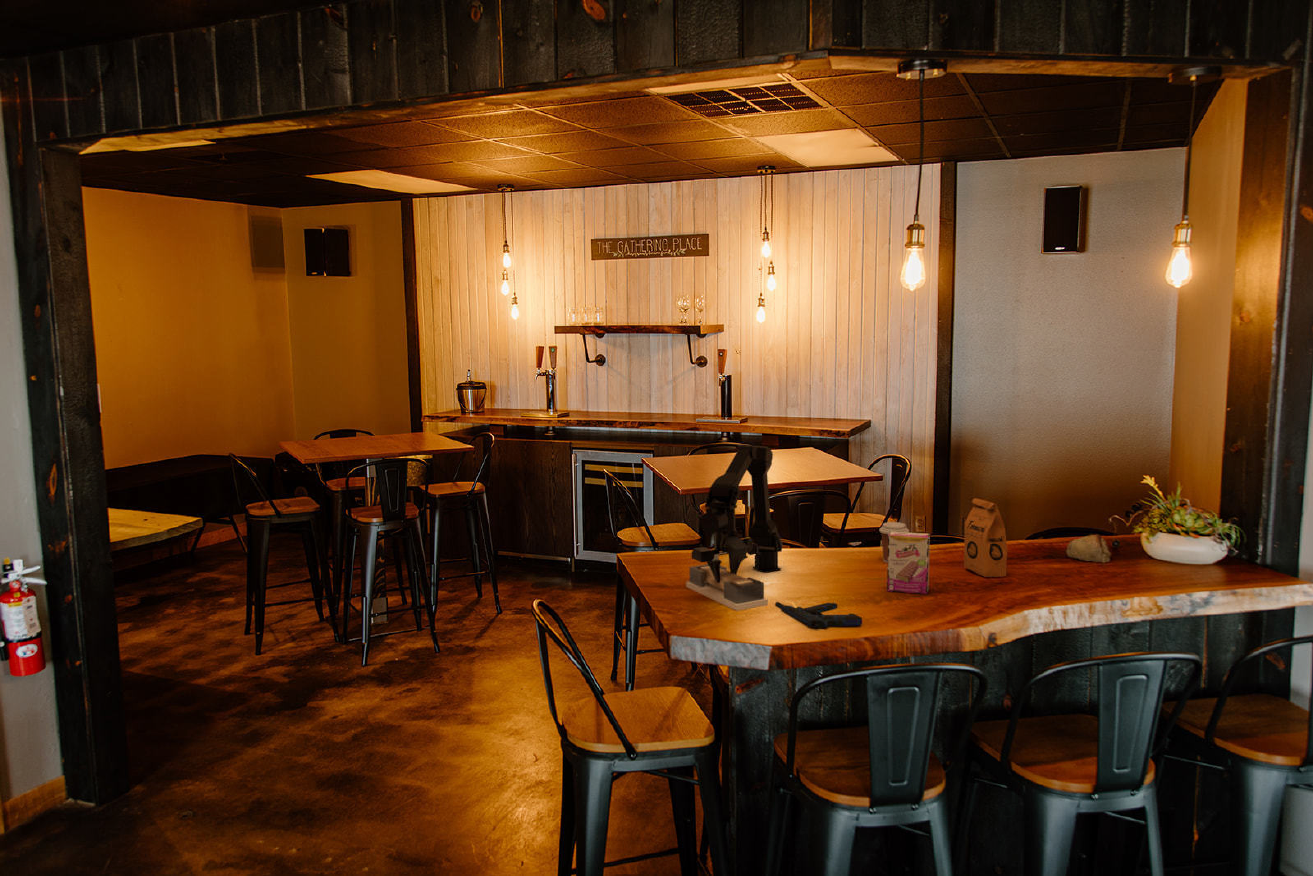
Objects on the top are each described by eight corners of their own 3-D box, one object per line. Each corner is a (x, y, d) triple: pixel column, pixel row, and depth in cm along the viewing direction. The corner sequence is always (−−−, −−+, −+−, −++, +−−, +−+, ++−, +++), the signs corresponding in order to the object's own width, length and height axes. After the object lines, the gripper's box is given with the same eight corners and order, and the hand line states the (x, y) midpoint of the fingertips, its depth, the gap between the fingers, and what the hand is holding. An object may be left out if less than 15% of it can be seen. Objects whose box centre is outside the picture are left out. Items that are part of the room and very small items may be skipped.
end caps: (689, 582, 254) (689, 567, 253) (714, 578, 258) (714, 563, 257) (737, 604, 232) (736, 587, 231) (763, 599, 236) (763, 582, 235)
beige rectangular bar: (700, 579, 252) (700, 567, 252) (713, 577, 254) (713, 565, 254) (738, 596, 235) (738, 583, 234) (752, 594, 237) (752, 581, 236)
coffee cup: (885, 556, 285) (885, 520, 284) (912, 560, 280) (913, 523, 279) (874, 562, 278) (874, 525, 277) (902, 566, 273) (903, 528, 271)
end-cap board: (686, 587, 254) (686, 581, 254) (715, 582, 259) (715, 577, 259) (736, 610, 231) (736, 605, 231) (767, 604, 235) (767, 599, 235)
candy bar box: (886, 592, 245) (887, 534, 244) (888, 587, 250) (888, 530, 248) (928, 595, 242) (929, 536, 240) (929, 590, 246) (929, 533, 245)
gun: (821, 604, 239) (772, 610, 235) (821, 594, 239) (771, 599, 234) (869, 627, 217) (816, 634, 212) (869, 616, 217) (816, 622, 212)
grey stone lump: (1120, 563, 272) (1121, 538, 271) (1080, 564, 271) (1081, 539, 271) (1096, 552, 286) (1097, 528, 285) (1058, 553, 285) (1059, 529, 285)
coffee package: (980, 579, 256) (982, 505, 254) (959, 569, 268) (960, 498, 266) (1012, 577, 258) (1014, 504, 255) (989, 567, 270) (991, 496, 268)
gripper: (711, 536, 231) (712, 593, 233) (769, 527, 240) (769, 583, 242) (690, 528, 241) (691, 583, 243) (746, 520, 250) (747, 574, 251)
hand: (725, 581), depth 244 cm, fingers closed on beige rectangular bar, 4 cm apart
